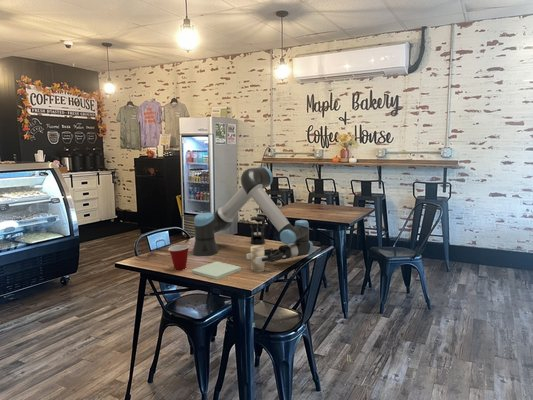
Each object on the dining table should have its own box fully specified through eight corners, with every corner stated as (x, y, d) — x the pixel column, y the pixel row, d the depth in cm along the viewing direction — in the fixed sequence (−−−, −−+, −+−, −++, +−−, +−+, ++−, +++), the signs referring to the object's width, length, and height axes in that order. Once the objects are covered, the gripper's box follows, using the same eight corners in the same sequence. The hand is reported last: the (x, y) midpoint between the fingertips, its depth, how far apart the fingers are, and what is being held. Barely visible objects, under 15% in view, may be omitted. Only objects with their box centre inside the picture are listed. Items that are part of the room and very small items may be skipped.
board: (191, 272, 202) (191, 270, 202) (216, 264, 216) (216, 261, 216) (216, 279, 191) (216, 276, 191) (241, 269, 205) (241, 267, 205)
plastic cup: (170, 266, 214) (169, 244, 212) (191, 265, 215) (190, 243, 213) (167, 272, 203) (166, 249, 202) (189, 271, 204) (188, 249, 202)
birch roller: (248, 270, 204) (247, 247, 203) (256, 266, 210) (256, 244, 208) (259, 272, 200) (258, 249, 199) (267, 269, 206) (267, 246, 204)
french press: (256, 245, 253) (255, 210, 250) (246, 243, 260) (245, 208, 257) (269, 242, 262) (269, 207, 258) (259, 240, 268) (259, 206, 265)
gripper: (299, 262, 206) (262, 271, 194) (276, 253, 224) (241, 260, 212) (299, 248, 205) (262, 256, 193) (276, 240, 223) (241, 247, 211)
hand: (251, 258), depth 202 cm, fingers open, 8 cm apart
